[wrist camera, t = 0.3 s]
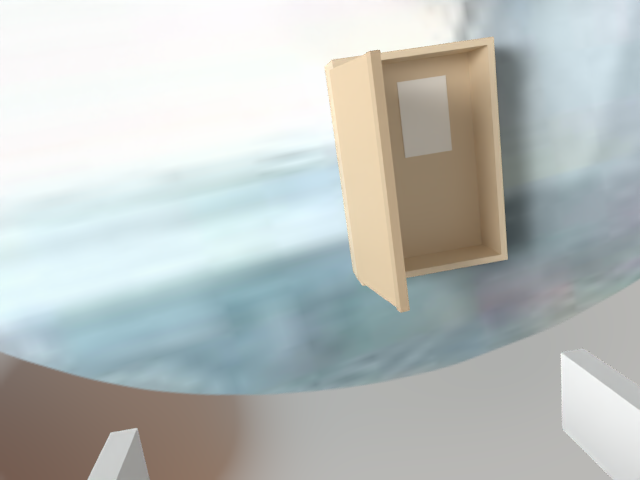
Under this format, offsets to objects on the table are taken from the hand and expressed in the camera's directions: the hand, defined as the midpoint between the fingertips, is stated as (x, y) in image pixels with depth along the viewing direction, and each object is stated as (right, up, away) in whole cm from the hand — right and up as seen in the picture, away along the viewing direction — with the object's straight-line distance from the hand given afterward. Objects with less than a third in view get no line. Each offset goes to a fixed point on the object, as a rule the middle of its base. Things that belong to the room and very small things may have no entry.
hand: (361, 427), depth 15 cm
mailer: (+6, +12, +26) cm, 30 cm away
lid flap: (+2, +10, +18) cm, 21 cm away
